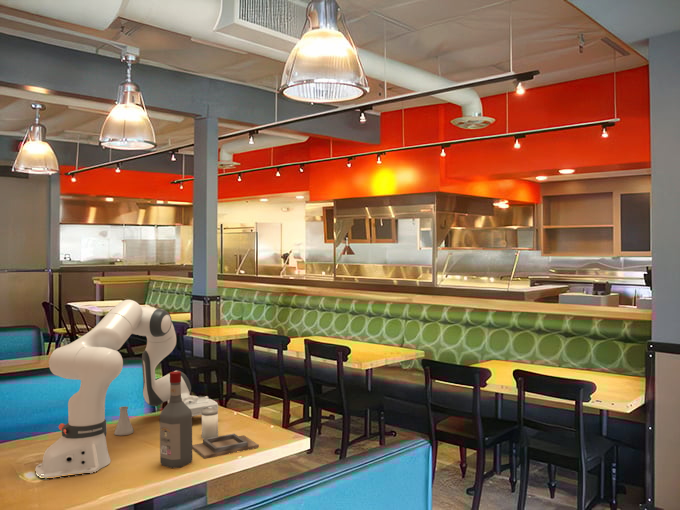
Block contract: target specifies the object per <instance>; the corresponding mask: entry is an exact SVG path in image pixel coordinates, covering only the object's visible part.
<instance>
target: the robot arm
mask: <svg viewBox="0 0 680 510" xmlns="http://www.w3.org/2000/svg"><path fill="white" fill-rule="evenodd" d="M131 335H136V336H137V335H138V336H140V337H141V336H142V337H146V347H145V349H144V351H143V352H142V355H141V368H142V381H143V383H142V385H143V387H142V395H143V398H144V400H145V402H146V404H147V405H149V406H152V407H159V406H160V405H162V404H164V403H165V402H167V404H168V403H169V402H170V372H169V373H167V374H166V375H164V376H162V377H160V378H157V379H156V372H155V371H156V368H157V366H158V365H159V364H160V363H161V362H162V361H163V360H164V359H165V358H166V357H168V356H169V355H170V354H171V353H172V352H173V350H175V347H176V345H177V333H176V330H175V326H174V324H173V321H172V316H171V315H170V312H168V311H167V310H165V309H163V308H155V307H151V306H146V305H140V303H138V302H137V301H135V300H132V299H125V300H122V301H121V302H119V303H118V304H116V305H115V306H114V307H113V308H111V309H110V310H109V311H108V312H107V313H106V314H105V315H104V317H103V318H102V319H101V320H100V321H99V322H98V323H97V324H96V325H95V326H94V327H93V328H92V329H91V330H89V331H87V333H85V334H83V335H82V336H80V337H79V338H77V339H76V340H74V341H72V342H70V343H67V344H65V345H63V346H61V347H60V346H59V347H57V348H55V349H54V350H53V352H52V353H51V354H50V357H49V360H48V366H49V370H50V372H51V373H52V374H53V375H54V376H56V377H57V376H58V377H60V378H63V379H67V380H75V381H76V380H78V381H80V386H79V390H78V391H76V392H75V393H73V395H71V396H70V398H69V399H68V402H67V407H68V408H67V412H68V417H67V420H68V422H67V423H66V424H65V423H60V424H59V425H58V429H59V430H60V431H61V437H59V438H58V439H57V440H56V441H54V442H53V443H52V444H51V445H49V446H48V447H47V448H46V450H45V451H44V454H43V457H42V462H41V463H38V464H37V465H36V466H35V469H34V472H35V471H36V473H37V474H38V475H39V476H41V477H44V478H47V477H55V476H62V475H68V474H79V473H90V474H94V473H93V472H95V473H96V471H97V472H98V471H99V470H100V469H103V468H105V467H106V466H108V465H109V464H110V463H111V461H112V460H111V457H110V454H109V449H108V446H107V445H108V443H107V433H108V432H107V431H108V430H107V429H108V427H107V426H108V423H107V419H106V418H105V416H106V415H105V414H106V411H105V410H106V398H107V397H106V396H107V391H108V390H109V387H110V385H111V384H112V382H113V381H114V380H115V379H116V378H117V377H119V375H120V374H121V372H122V371H123V368H124V367H123V366H124V360H123V357H122V354H121V353H120V351H118V350H120V349H121V348H122V347H123V345H124V344H125V343H126V342H127V341H128V339H129V338H130V336H131ZM175 371H179V372H181V398H182V401H183V402H184V403H185V404H186V405H187V406H188V407H189V408H190V409H191V412H192V418H193V417H195V416H202V410H203V409H207V408H216V409H218V410H219V404H218V401H215V400H214V399H211V398H209V396H208V395H206V396H205V395H203V396H202V395H201V396H200V395H198V396H197V395H191V392H192V391H191V390H192V384H191V381H190V379H189V378H188V377H187V375H186V373H184V372H182V371H181V370H177V369H176V370H174V371H173V372H175ZM41 474H44V475H41Z"/></svg>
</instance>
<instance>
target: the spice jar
mask: <svg viewBox="0 0 680 510" xmlns="http://www.w3.org/2000/svg"><path fill="white" fill-rule="evenodd" d="M218 436H219V408H218V409H216V408H207V409H203V410H202V415H201V439H202V440H203V439H208V438H213V437H218Z"/></svg>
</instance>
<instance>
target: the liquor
mask: <svg viewBox="0 0 680 510" xmlns="http://www.w3.org/2000/svg"><path fill="white" fill-rule="evenodd" d="M174 371H175V372H174ZM174 371H170V372H169V373H170V402H169V403H168V402H167V404H166V405H165V406H164V408H163V409H162V410H161V412H160V414H159V452H160V453H159V457H160V459H159V461H160V465H161V467H166V468H170V469H178V468H182V467H185V466H187V465H190V464H192V462H193V449H192V445H193V417H192V412H191V409H190V408H189V407H188V406H187V405H186V404H185V403H184V402H183V401H182V398H181V372H182V371H181V372H179V371H180V370H178V371H176V370H174Z"/></svg>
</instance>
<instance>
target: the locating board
mask: <svg viewBox="0 0 680 510" xmlns="http://www.w3.org/2000/svg"><path fill="white" fill-rule="evenodd" d="M258 447H259V444H258V443H257V442H255V441H254V440H252V439H250V438H249V437H247V436H246V435H238V434H237V433H231V434H224V435H218V437H213V438H208V439H203V438H202V443H201V442H200V443H197V444H192V451H195V452H196V453H197V455H200V457H202V458H203V459H205V460H206V459H210V458H214V457H221V456H224V455H225V456H226V455H229V453H230V454H234V453H233V452H235V453H238V452H237V451H240V452H244V451H243V450H245V451H248V449H249V450H253V448H254V449H258Z"/></svg>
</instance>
